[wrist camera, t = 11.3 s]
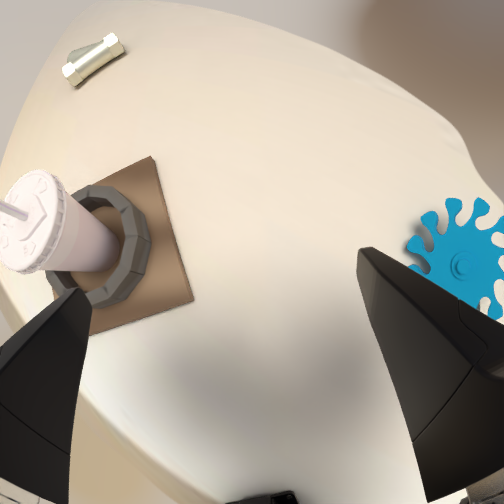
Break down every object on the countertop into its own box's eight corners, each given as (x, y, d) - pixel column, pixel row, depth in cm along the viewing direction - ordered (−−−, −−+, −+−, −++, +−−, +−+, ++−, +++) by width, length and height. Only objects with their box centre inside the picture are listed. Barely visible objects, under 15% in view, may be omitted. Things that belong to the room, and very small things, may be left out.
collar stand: (194, 300, 22) (179, 298, 19) (70, 341, 22) (46, 343, 19) (154, 160, 25) (139, 141, 22) (49, 216, 25) (27, 205, 22)
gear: (391, 211, 21) (510, 181, 13) (412, 213, 25) (506, 190, 17) (410, 350, 20) (526, 341, 13) (428, 328, 24) (522, 317, 17)
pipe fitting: (70, 73, 30) (77, 91, 29) (58, 57, 27) (62, 73, 25) (116, 41, 31) (127, 55, 29) (105, 23, 27) (116, 35, 25)
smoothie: (130, 290, 22) (-16, 260, 8) (70, 285, 22) (-61, 257, 9) (137, 212, 23) (21, 122, 9) (79, 215, 24) (-35, 150, 10)
